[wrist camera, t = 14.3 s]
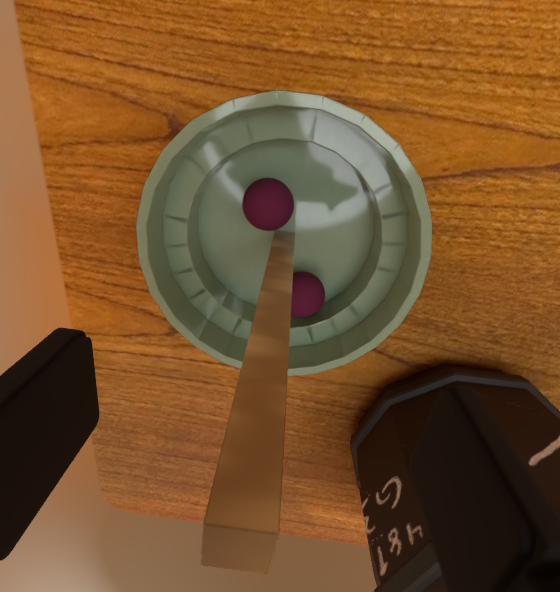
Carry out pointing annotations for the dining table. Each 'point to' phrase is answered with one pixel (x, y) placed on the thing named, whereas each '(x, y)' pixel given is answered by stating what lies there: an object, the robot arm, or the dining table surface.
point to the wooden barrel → (400, 445)
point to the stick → (255, 432)
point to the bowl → (285, 226)
